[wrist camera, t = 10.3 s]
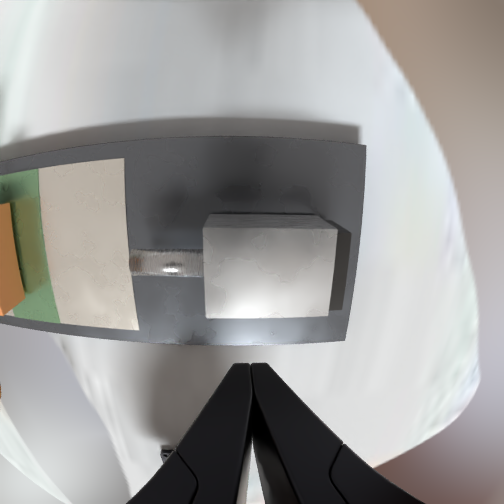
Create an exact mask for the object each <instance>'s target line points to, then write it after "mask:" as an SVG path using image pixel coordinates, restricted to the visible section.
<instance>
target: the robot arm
mask: <svg viewBox="0 0 504 504" xmlns="http://www.w3.org/2000/svg"><path fill="white" fill-rule="evenodd" d="M252 441H253V448H254V453H255V458H256V463H257V468H258V472H259V477H260V482H261V486H262V491H263V495H264V500H265V504H425V503H423V502H422V501H420V500H419V499H417V498H415V497H414V496H412V495H411V494H409V493H407V492H406V491H404V490H403V489H401V488H400V487H398V486H397V485H395V484H394V483H392V482H391V481H389V480H388V479H386V478H385V477H384V476H382V475H381V474H379V473H378V472H377V471H376V470H374V469H373V468H372V467H370V466H369V465H368V464H367V463H366V462H365V461H363V460H362V459H361V458H360V457H359V456H358V455H357V454H355V453H354V452H353V451H352V450H351V449H350V448H349V447H348V446H347V445H346V444H343V441H342V440H341V439H340V438H339V437H338V436H337V435H336V434H335V433H334V432H333V431H332V430H331V429H330V428H329V427H328V426H327V425H326V424H325V423H324V422H323V421H322V420H321V419H320V418H319V417H318V416H317V415H316V414H315V413H314V412H313V411H312V410H311V409H310V408H309V407H308V406H307V405H306V404H305V403H304V402H303V401H302V400H301V399H300V398H299V397H298V396H297V395H296V394H295V393H294V392H293V390H292V389H291V388H290V387H289V386H288V385H287V384H286V383H285V382H284V381H283V380H282V379H281V378H280V377H279V375H278V374H277V373H276V372H275V371H274V370H273V369H272V368H271V367H270V366H269V365H268V364H267V363H252V364H251V365H250V364H249V363H234V364H233V365H232V367H231V368H230V370H229V371H228V373H227V374H226V376H225V377H224V379H223V380H222V382H221V383H220V385H219V386H218V387H217V389H216V390H215V392H214V393H213V395H212V396H211V398H210V399H209V401H208V402H207V404H206V405H205V406H204V408H203V409H202V411H201V412H200V414H199V415H198V417H197V418H196V419H195V421H194V422H193V424H192V425H191V427H190V428H189V429H188V431H187V432H186V434H185V435H184V436H183V438H182V439H181V441H180V442H179V443H178V445H177V446H176V447H175V451H168V450H162V451H161V454H160V455H161V458H162V461H163V465H162V466H161V467H160V469H159V470H158V471H157V472H156V473H155V475H154V476H153V477H152V478H151V479H150V480H149V481H148V482H147V483H146V485H145V486H144V487H143V488H142V489H141V490H140V491H139V492H138V493H137V494H136V495H135V496H134V497H132V498H131V499H130V500H129V501H128V502H127V503H126V504H246V497H247V488H248V479H249V469H250V459H251V448H252Z"/></svg>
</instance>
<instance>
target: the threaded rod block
mask: <svg viewBox="0 0 504 504" xmlns="http://www.w3.org/2000/svg"><path fill="white" fill-rule="evenodd" d="M351 236H352V233H351V232H349V231H348V230H346V229H345V228H343V227H342V226H340V225H338V224H337V223H335V222H334V221H332V220H323V219H322V218H320V217H319V216H314V215H269V214H209V216H208V218H207V220H206V222H205V224H204V226H203V249H132V250H131V252H130V255H129V269H130V273H131V275H133V276H189V277H204V286H205V308H206V318H293V317H319V316H328V312H329V311H332V310H342V307H343V301H344V294H345V287H346V279H347V271H348V263H349V255H350V245H351Z"/></svg>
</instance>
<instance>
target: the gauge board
mask: <svg viewBox="0 0 504 504" xmlns="http://www.w3.org/2000/svg"><path fill="white" fill-rule="evenodd" d="M365 168H366V145H360V144H352V143H343V142H333V141H323V140H310V139H296V138H278V137H248V136H206V137H176V138H158V139H144V140H132V141H121V142H112V143H103V144H95V145H88V146H81V147H74V148H67V149H61V150H55V151H50V152H44V153H39V154H34V155H29V156H24V157H20V158H15V159H11V160H7V161H2V162H0V204H5V203H10V211H11V221H12V229H13V237H14V243H15V250H16V256H17V261H18V266H19V271H20V276H21V281H22V285H23V290H24V294H25V299H24V300H23V301H21V302H20V303H19V304H18V305H16V306H15V307H14V308H13V309H11V310H10V311H9V312H8V313H7V314H5V315H4V316H0V323H2V324H7V325H12V326H18V327H22V328H28V329H34V330H40V331H46V332H53V333H60V334H67V335H74V336H82V337H91V338H100V339H110V340H121V341H133V342H147V343H164V344H186V345H281V344H304V343H321V342H335V341H345V337H346V332H347V327H348V321H349V315H350V310H351V304H352V297H353V291H354V284H355V277H356V270H357V262H358V254H359V245H360V236H361V226H362V214H363V202H364V187H365ZM209 214H269V215H314V216H319V217H320V218H322V219H323V220H332V221H334V222H335V223H337V224H338V225H340V226H342V227H343V228H345V229H346V230H348V231H349V232H351V233H352V236H351V245H350V255H349V263H348V271H347V279H346V287H345V294H344V301H343V307H342V310H332V311H329V312H328V316H319V317H293V318H206V308H205V286H204V277H189V276H133V275H131V273H130V269H129V255H130V252H131V250H132V249H203V226H204V224H205V222H206V220H207V218H208V216H209Z"/></svg>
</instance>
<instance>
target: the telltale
mask: <svg viewBox="0 0 504 504" xmlns="http://www.w3.org/2000/svg"><path fill="white" fill-rule="evenodd" d="M24 299H25V294H24V290H23V285H22V281H21V276H20V271H19V266H18V261H17V256H16V250H15V243H14V237H13V229H12V221H11V211H10V203H5V204H0V316H4V315H5V314H7V313H8V312H9V311H10V310H11V309H13V308H14V307H15V306H16V305H18V304H19V303H20V302H21V301H23V300H24Z"/></svg>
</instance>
